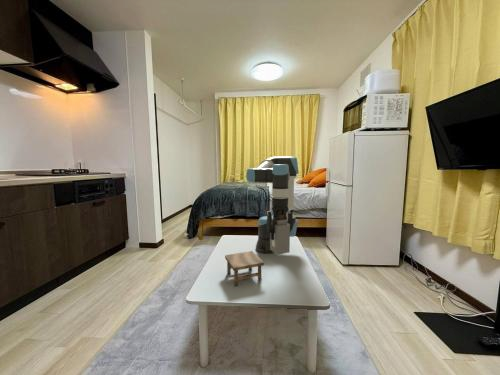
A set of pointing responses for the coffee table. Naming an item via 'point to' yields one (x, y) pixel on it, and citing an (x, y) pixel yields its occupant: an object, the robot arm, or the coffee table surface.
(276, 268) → the coffee table surface
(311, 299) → the coffee table surface
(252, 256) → the stool
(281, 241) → the perfume bottle
